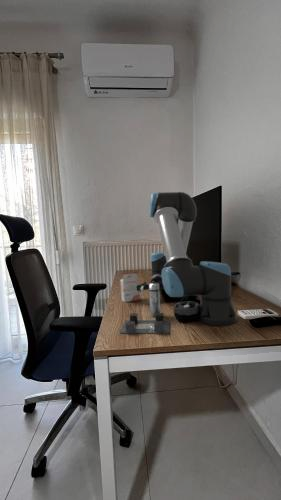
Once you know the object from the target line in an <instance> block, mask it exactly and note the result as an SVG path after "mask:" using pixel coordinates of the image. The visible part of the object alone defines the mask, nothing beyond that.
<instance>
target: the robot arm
mask: <svg viewBox="0 0 281 500" xmlns="http://www.w3.org/2000/svg"><path fill="white" fill-rule="evenodd" d="M197 209H198V208H197V205H196V203H195V200H194V199H193V197H192V196H191V195H190V194H188V193H186V192H184V191H183V192H182V191H177V192H176V191H175V192H173V191H171V192H169V191H168V192H154V193H151V195H150V199H149V209H148V211H149V217H150V218H153V219H154V222H155V223H157V224H158V226H159V232H160V233H159V234H160V236H161V237H160V238H161V241H162V245H163V252H164V253H163V252H152V253H151V255H150V264H151V265H150V266H151V279H150V282H149V283H148V282H146V281H145V282H142V283H140V284H138V285H137V291H138V292H139V293H140V295H142V296H143V294H144V292H145V291H146V290H149V284H150V283H159V291H160V290H164V291H165V293H166V294H167V295H168V296H169V297H170V298H183V297H194V296H200V303H199V311H200V312H199V316H200V317H199V318H200V320H198V321H199V323H200V322H201V323H203V324H205V325H210V326H216V327H217V326H218V327H221V326H230V325H233V324H235V323H236V322H237V321H238V320H237V319H238V318H237V313H236V309H235V308H234V304H233V302H232V271H231V266H230V265H229V264H227V263H225V262H224V263H223V262H219V261H218V262H217V261H209V260H207V261H206V260H205V261H200V262H199V265H194V263H193V260H192V259H190V258H189V257H188V255H187V249H188V246H189V242H190V237H191V232H192V228H193V224H194V222H195V221H196V219H197V214H198V213H197V212H198V210H197ZM177 219H178V220H177Z"/></svg>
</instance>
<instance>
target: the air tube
mask: <svg viewBox="0 0 281 500" xmlns="http://www.w3.org/2000/svg"><path fill="white" fill-rule="evenodd" d="M149 283H150V282H149ZM148 292H149V293H148V294H149V314H150V315H149V317H152V318H156V313H161V300H160V299H161V297H160V290H159V283H150V284H149V289H148Z"/></svg>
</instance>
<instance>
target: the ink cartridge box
mask: <svg viewBox="0 0 281 500" xmlns="http://www.w3.org/2000/svg"><path fill="white" fill-rule="evenodd" d="M137 285H139V279H138V274H137V273H135V272H134V273H127V274H123V275H122V279H120V293H121V301H122V302H124V303H128V302H134V301H140V296H139V295H140V294H139V293H140V292H139V291H137Z"/></svg>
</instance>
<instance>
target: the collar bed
mask: <svg viewBox="0 0 281 500" xmlns="http://www.w3.org/2000/svg"><path fill="white" fill-rule="evenodd" d="M170 331H171V330H170V320H169V319H164V312H160V313H156V317H155V319H154V320H151V319H149V320H146V319H145V320H144V319H143V320H139V314H138V313H137V312H135V313H134V312H131V313H130V314H129V320H125V321H124V323H123V325H122V328H121V330H120V331H119V335H120V334H123V335H124V334H128V335H129V334H137V335H138V334H170Z"/></svg>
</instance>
